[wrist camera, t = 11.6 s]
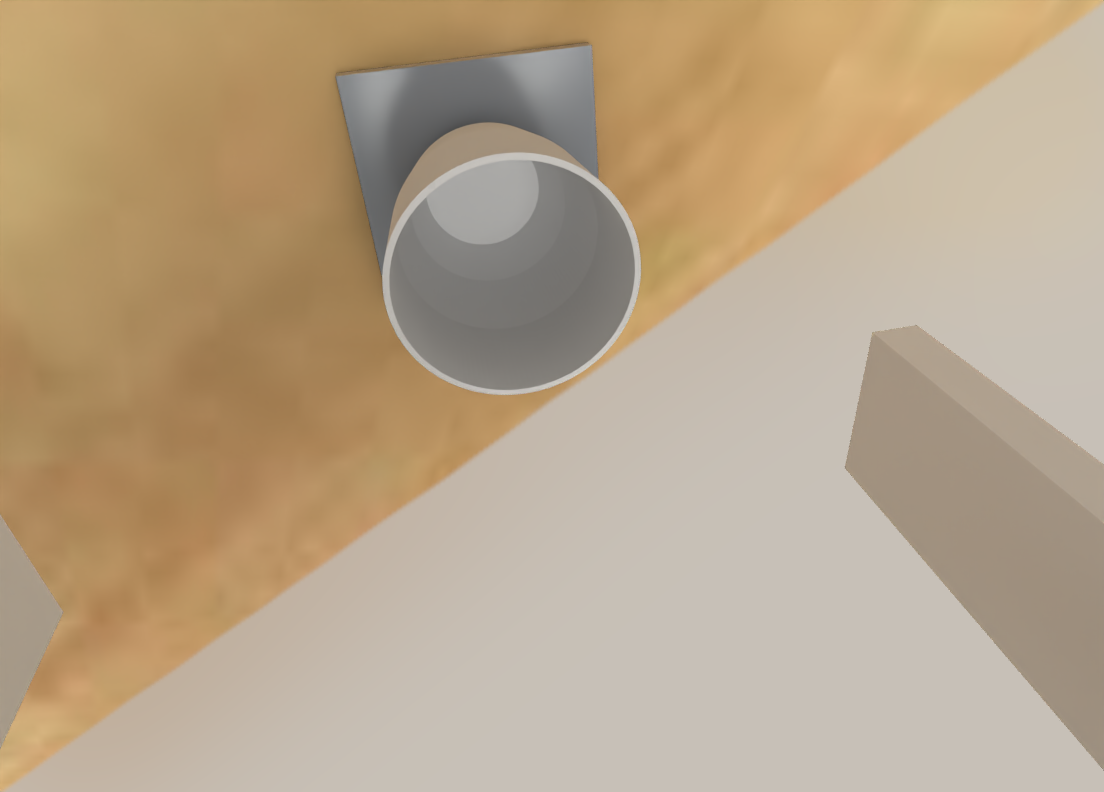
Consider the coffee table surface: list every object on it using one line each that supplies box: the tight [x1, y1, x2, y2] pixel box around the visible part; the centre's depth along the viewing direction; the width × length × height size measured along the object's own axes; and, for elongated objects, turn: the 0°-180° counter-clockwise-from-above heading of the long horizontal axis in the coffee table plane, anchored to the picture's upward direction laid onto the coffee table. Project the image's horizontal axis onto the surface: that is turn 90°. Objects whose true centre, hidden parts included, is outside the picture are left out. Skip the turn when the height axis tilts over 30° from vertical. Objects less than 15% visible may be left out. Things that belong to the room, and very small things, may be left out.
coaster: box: [336, 43, 598, 275], centre depth 31 cm, size 10×10×1 cm
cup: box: [382, 122, 641, 395], centre depth 27 cm, size 8×8×10 cm
